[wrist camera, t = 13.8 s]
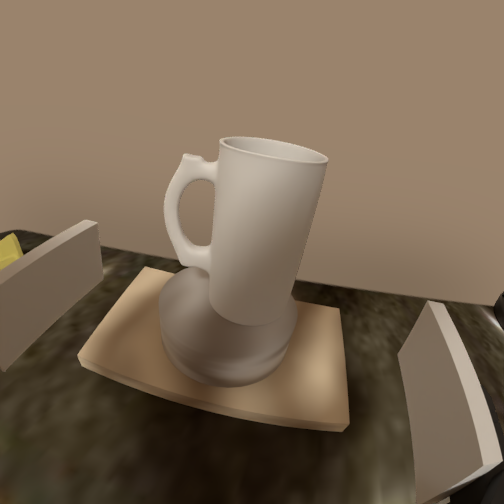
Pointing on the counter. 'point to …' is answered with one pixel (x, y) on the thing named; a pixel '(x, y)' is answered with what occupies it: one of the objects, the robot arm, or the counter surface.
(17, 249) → the plastic component
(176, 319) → the board with round cheese
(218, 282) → the mug
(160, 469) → the counter surface
